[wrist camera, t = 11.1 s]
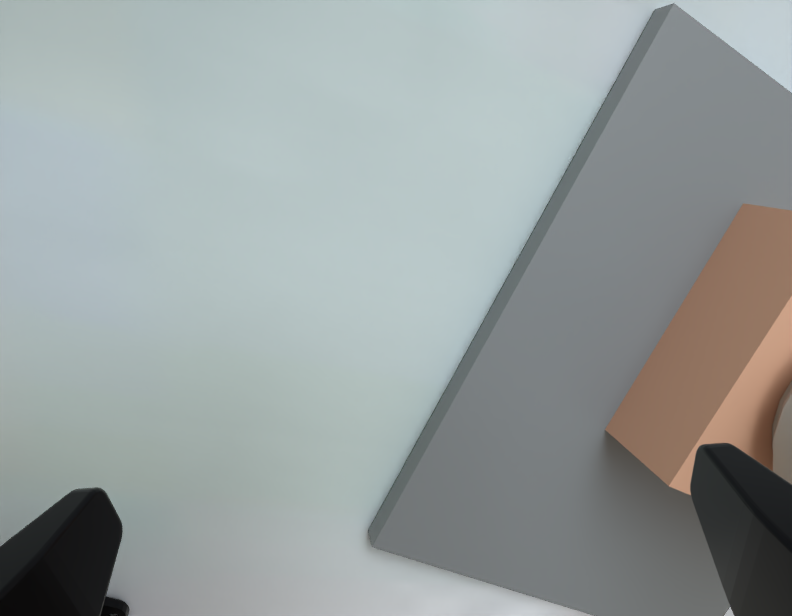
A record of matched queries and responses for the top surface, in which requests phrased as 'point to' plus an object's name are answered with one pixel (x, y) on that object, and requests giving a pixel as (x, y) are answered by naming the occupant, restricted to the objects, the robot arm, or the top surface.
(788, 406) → the can
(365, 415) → the top surface
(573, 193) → the baseplate
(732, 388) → the block
